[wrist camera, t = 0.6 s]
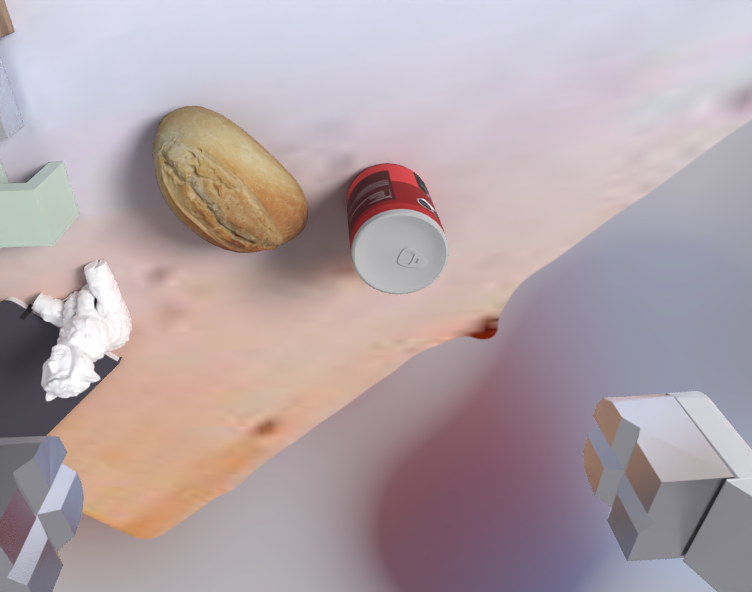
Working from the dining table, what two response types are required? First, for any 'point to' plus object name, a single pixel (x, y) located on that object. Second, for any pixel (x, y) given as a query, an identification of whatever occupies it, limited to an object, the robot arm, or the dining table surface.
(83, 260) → the dining table surface
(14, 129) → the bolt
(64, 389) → the sitting furry creature
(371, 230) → the canned food
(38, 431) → the notebook
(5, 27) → the open wooden box
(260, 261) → the dining table surface
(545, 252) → the dining table surface
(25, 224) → the pale green block
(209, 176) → the bread roll
